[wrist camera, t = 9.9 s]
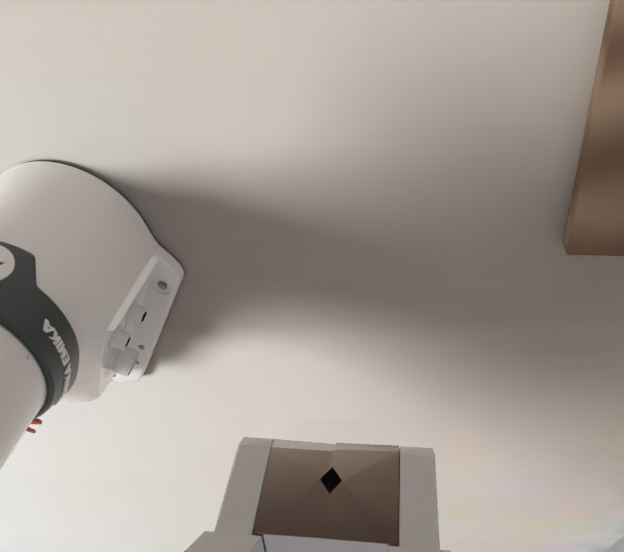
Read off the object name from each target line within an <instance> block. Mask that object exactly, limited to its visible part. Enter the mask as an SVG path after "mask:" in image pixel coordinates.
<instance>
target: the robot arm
mask: <svg viewBox="0 0 624 552" xmlns="http://www.w3.org/2000/svg"><path fill="white" fill-rule="evenodd" d="M183 276H184V271H183V268H182V267H181V265H180V264H179V263H178V262H177V260H176V259H174V258H173V257H172V256H171V255H170V254H169V253H168V252H167V251H166V250H164V249H163V248H162V247H161V246H160V245H159V244H158V243H157V242H156V241H155V239H154V238H153V236H152V235H151V233H150V231H149V229H148V228H147V226H146V224H145V223H144V221H143V220H142V218H141V217H140V215H139V214H138V213H137V211H136V210H135V209H134V208H133V207H132V205H131V204H130V203H129V202H128V201H127V200H126V199H125V198H124V197H123V196H122V195H120V194H119V193H118V192H117V191H116V190H114V189H113V188H112V187H110V186H109V185H108V184H106V183H105V182H103V181H102V180H100V179H98V178H97V177H95V176H93V175H91V174H89V173H87V172H85V171H82V170H80V169H77V168H75V167H72V166H68V165H65V164H60V163H55V162H46V161H34V162H27V163H22V164H18V165H16V166H13V167H11V168H9V169H7V170H6V171H4V172H3V173H2V174H0V470H1V468H2V467H3V465H4V463H5V462H6V460H7V459H8V457H9V456H10V454H11V452H12V451H13V449H14V448H15V446H16V445H17V443H18V442H19V440H20V439H21V437H22V436H23V434H24V433H25V431H28V432H31V433H35V432H36V431H35V430H34V429H32V428H29V425H30V424H41V423H42V420H40V419H37V417H39V416H41V415H42V414H44V413H45V412H46V411H47V410H48V409H49V408H50V407H52V406H53V405H56V404H57V403H58V402H59V401H64V402H86V401H91V400H94V399H96V398H98V397H99V396H100V395H101V394H102V393H103V391H104V390H105V388H106V387H107V385H108V384H109V382H130V381H136V380H139V379H140V378H141V376H142V375H143V374H144V372H145V371H146V368H147V366H148V364H149V361H150V359H151V356H152V354H153V351H154V349H155V346H156V344H157V341H158V339H159V336H160V334H161V331H162V329H163V326H164V324H165V321H166V319H167V316H168V314H169V311H170V309H171V306H172V304H173V301H174V299H175V296H176V294H177V292H178V289H179V287H180V284H181V282H182V279H183ZM161 281H163V282H165V283H166V284H164V283H162V282H161ZM184 552H450V551H445V550H440V545H439V526H438V507H437V489H436V470H435V454H434V451H433V449H432V448H418V447H400V449H399V446H394V445H371V444H347V443H336V444H326V443H314V442H302V441H290V440H278V439H264V438H249V437H243V439H242V441H241V442H240V444H239V446H238V449H237V452H236V456H235V459H234V463H233V467H232V470H231V474H230V477H229V481H228V484H227V488H226V492H225V495H224V499H223V502H222V506H221V510H220V513H219V517H218V520H217V524H216V527H215V531H214V532H209V531H205V532H204V533H203V534H202V535H201V536H200V537H199V538H198V539H197V540H196V541H195V542H194V543H193V544H192V545H191V546H190V547H189V548H187V549H186V550H185V551H184Z"/></svg>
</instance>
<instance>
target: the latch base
mask: <svg viewBox="0 0 624 552" xmlns="http://www.w3.org/2000/svg"><path fill="white" fill-rule="evenodd" d="M563 244H564V247H565V250H566V254H571V255H608V256H624V0H610V5H609V10H608V15H607V20H606V25H605V30H604V36H603V41H602V46H601V51H600V56H599V61H598V66H597V71H596V76H595V82H594V87H593V92H592V97H591V102H590V107H589V112H588V117H587V122H586V127H585V133H584V138H583V143H582V148H581V153H580V158H579V163H578V168H577V173H576V179H575V184H574V189H573V194H572V199H571V204H570V209H569V214H568V219H567V224H566V230H565V235H564V240H563Z"/></svg>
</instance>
